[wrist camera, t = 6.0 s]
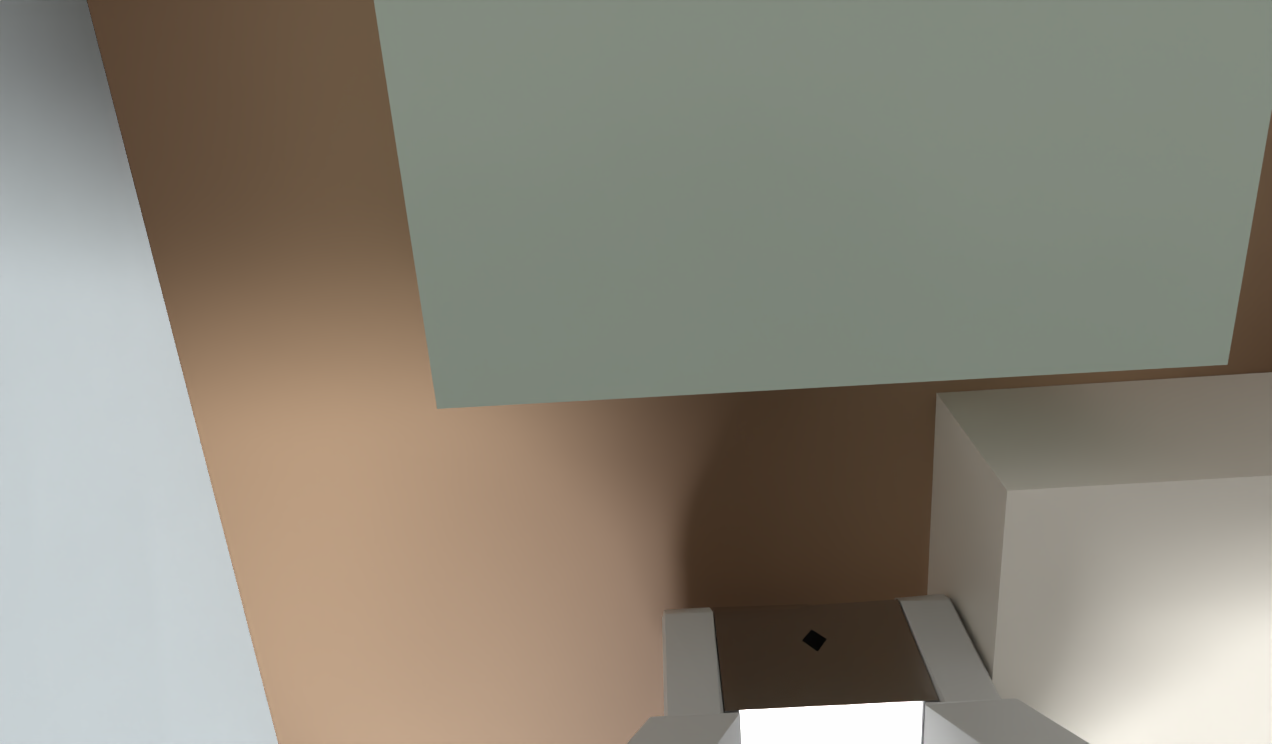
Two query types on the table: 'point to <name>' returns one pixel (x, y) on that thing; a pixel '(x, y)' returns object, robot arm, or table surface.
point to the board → (473, 422)
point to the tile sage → (822, 189)
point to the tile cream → (1114, 552)
